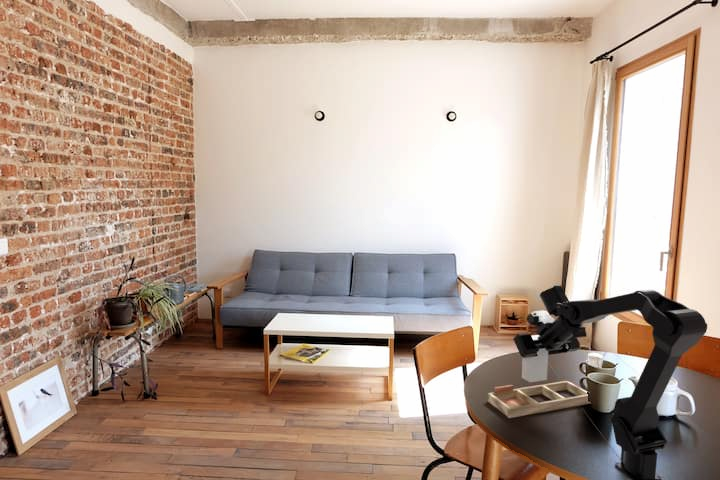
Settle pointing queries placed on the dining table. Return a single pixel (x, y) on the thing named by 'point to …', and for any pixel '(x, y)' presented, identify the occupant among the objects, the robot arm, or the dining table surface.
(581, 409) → the dining table surface
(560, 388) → the organiser
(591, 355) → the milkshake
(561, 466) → the dining table surface
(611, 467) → the dining table surface
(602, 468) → the dining table surface
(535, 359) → the pale grey upright block
